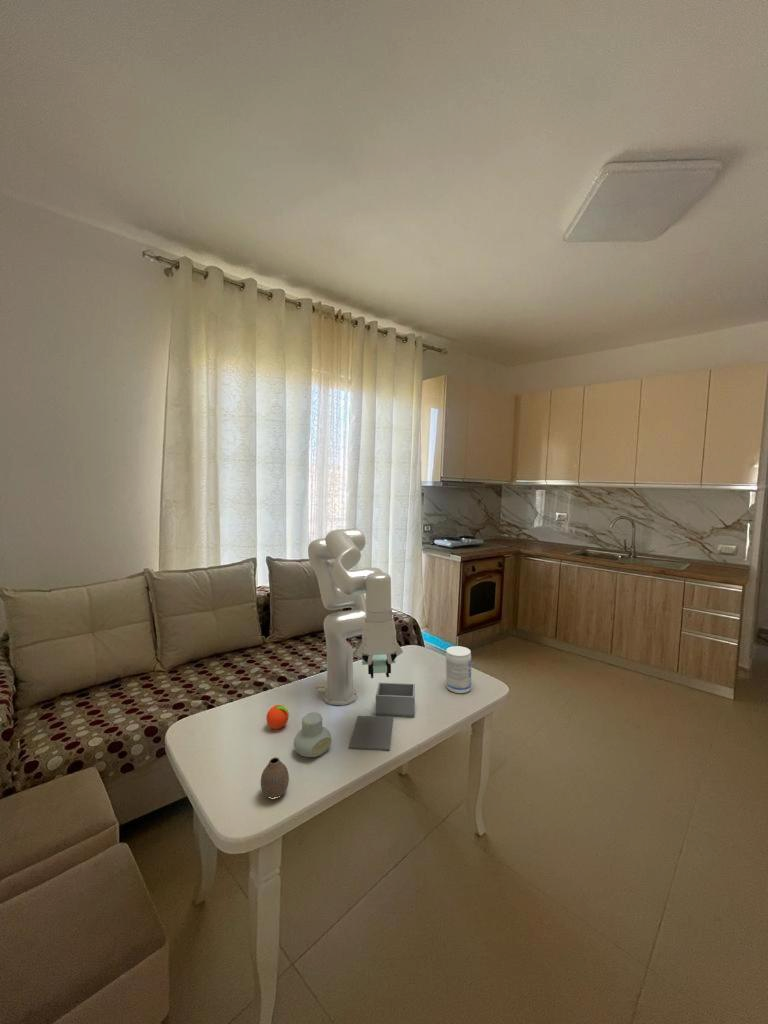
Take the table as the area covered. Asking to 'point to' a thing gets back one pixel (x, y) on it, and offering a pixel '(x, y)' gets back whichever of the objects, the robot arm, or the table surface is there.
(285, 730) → the table surface
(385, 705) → the tub
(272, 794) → the vase
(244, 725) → the table surface
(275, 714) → the clementine
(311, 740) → the air freshener
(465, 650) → the supplement tub
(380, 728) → the mat
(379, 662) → the lid
